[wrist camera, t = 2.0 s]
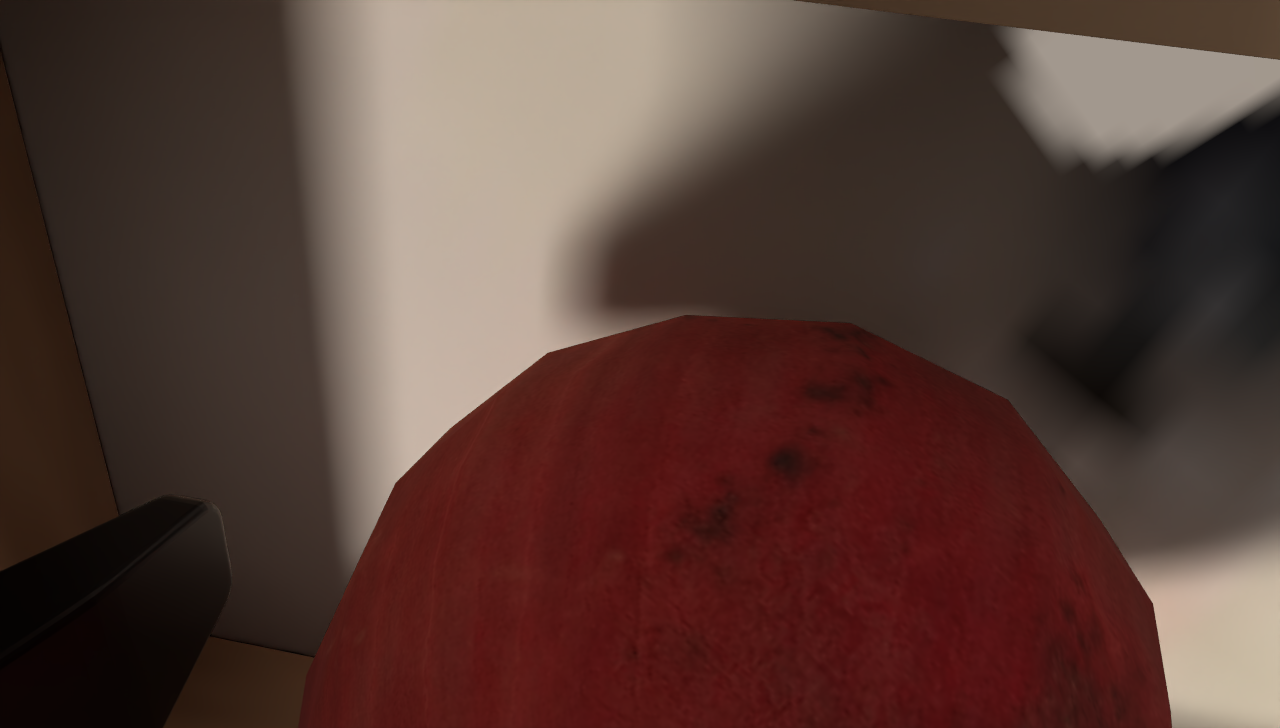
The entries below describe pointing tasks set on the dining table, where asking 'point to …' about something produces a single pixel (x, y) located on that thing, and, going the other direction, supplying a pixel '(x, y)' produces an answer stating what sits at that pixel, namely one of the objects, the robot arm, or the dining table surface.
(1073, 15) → the ball
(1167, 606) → the dining table surface
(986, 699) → the onion
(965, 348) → the dining table surface
